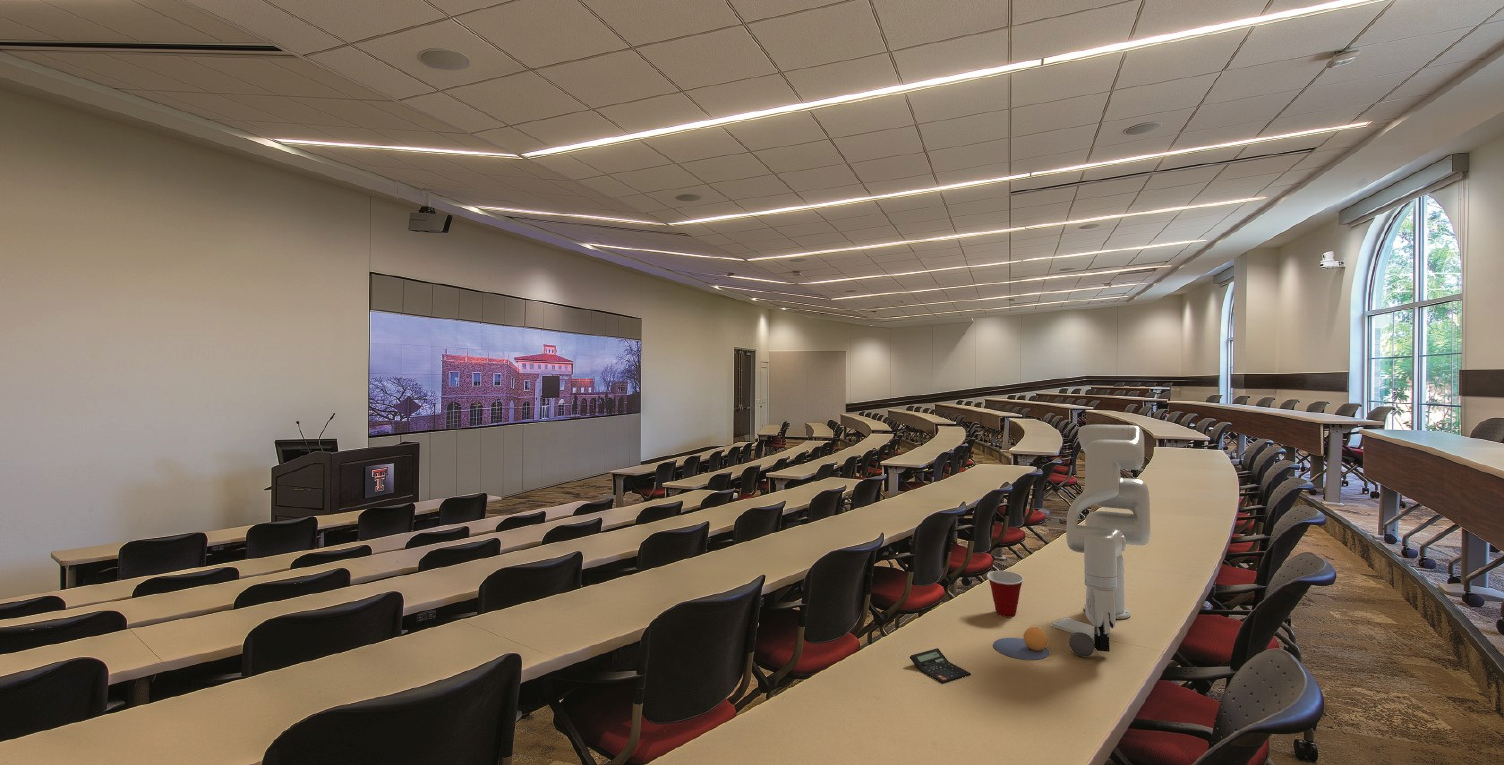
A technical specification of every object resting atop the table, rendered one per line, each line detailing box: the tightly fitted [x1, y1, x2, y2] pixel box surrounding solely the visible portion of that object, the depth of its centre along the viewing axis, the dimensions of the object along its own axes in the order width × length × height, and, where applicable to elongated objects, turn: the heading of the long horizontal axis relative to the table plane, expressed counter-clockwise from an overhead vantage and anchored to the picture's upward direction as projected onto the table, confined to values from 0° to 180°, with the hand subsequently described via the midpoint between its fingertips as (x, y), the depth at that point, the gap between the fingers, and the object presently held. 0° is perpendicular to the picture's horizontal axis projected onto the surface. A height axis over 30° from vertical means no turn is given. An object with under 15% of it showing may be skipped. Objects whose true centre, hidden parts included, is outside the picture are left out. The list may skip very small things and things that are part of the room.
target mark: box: [993, 637, 1050, 661], centre depth 169 cm, size 14×14×1 cm
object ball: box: [1023, 626, 1049, 651], centre depth 168 cm, size 6×6×6 cm
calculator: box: [909, 647, 972, 684], centre depth 157 cm, size 9×12×3 cm
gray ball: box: [1068, 632, 1095, 658], centre depth 164 cm, size 6×6×6 cm
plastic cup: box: [986, 570, 1025, 617], centre depth 195 cm, size 11×11×12 cm
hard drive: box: [1051, 617, 1095, 641], centre depth 182 cm, size 2×8×12 cm
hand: (1101, 650), depth 164 cm, fingers closed
